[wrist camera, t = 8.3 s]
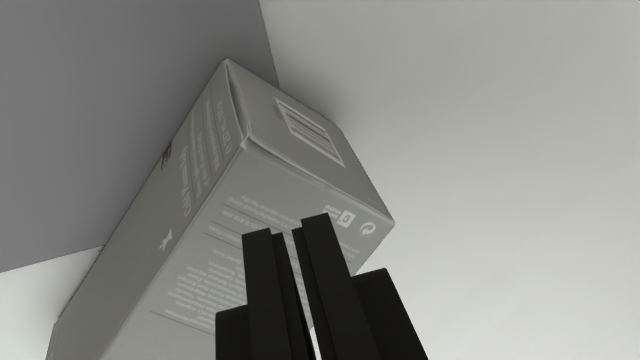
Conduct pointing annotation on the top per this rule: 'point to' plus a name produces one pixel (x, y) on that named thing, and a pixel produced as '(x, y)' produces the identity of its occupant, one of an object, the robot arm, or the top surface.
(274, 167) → the skincare box
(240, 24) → the mat
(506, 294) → the top surface
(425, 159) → the top surface
